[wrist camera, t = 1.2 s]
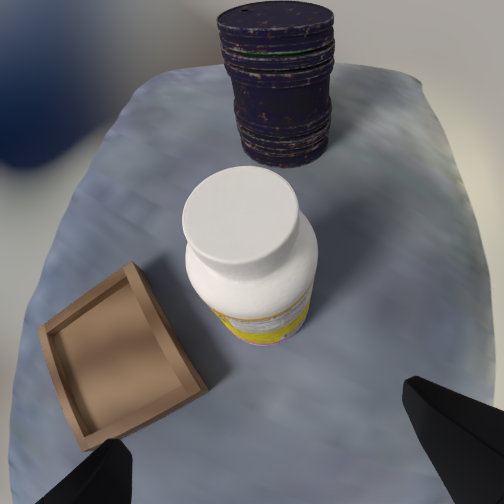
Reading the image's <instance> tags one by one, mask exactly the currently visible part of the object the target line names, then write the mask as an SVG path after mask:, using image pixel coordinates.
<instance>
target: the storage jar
mask: <svg viewBox="0 0 504 504" xmlns="http://www.w3.org/2000/svg"><path fill="white" fill-rule="evenodd" d="M216 21H217V25H218V29H219V30H220V34H219V35H220V40H221V50H222V55H223V58H224V60H225V63H224V66H225V68H226V70H227V73H228V75H229V76H230V77H231V80H232V85H233V90H234V96H235V99H234V112H235V115H236V123H237V128H238V131H239V133H240V137H241V143H242V147H243V149H244V151H245V153H246V154H247V155H248V156H249V157H250V158H251V159H252V160H254V161H256V162H257V163H260V164H262V165H265V166H269V167H274V168H294V167H300V166H303V165H306V164H309V163H311V162H313V161H315V160H316V159H318V158H319V157H320V156H321V155H322V154H323V153H324V151H325V150H326V148H327V144H328V132H329V129H330V124H331V112H332V105H331V98H330V96H329V83H330V73H331V72H332V70H333V65H334V58H333V57H334V56H333V54H334V51H335V49H334V48H335V40H334V29H333V27H332V26H333V24H334V14H333V12H332V11H331V10H329V9H328V8H325V7H323V6H320V5H316V4H312V3H307V2H299V1H265V2H256V3H250V4H245V5H241V6H238V7H234V8H232V9H229V10H227V11H225V12H223V13H221V14H220V15H219V16H218V17H217V19H216Z"/></svg>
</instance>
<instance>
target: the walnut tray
mask: <svg viewBox="0 0 504 504" xmlns="http://www.w3.org/2000/svg"><path fill="white" fill-rule="evenodd" d="M38 333H39V337H40V341H41V345H42V348H43V352H44V356H45V359H46V362H47V366H48V369H49V372H50V375H51V378H52V381H53V384H54V387H55V390H56V393H57V395H58V398H59V401H60V403H61V406H62V408H63V411H64V413H65V416H66V418H67V421H68V423H69V425H70V428H71V430H72V432H73V434H74V437H75V439H76V441H77V443H78V445H79V447H80V449H81V451H82V452H86V451H94V450H96V449H97V448H98V447H99V446H100V445H101V444H102V443H103V442H104V441H105V440H106V439H108V438H118V439H122V438H124V437H126V436H128V435H130V434H132V433H134V432H136V431H138V430H140V429H142V428H144V427H146V426H148V425H150V424H151V423H153V422H155V421H157V420H159V419H161V418H163V417H165V416H166V415H168V414H170V413H172V412H174V411H176V410H177V409H179V408H181V407H183V406H184V405H186V404H188V403H190V402H191V401H193V400H195V399H197V398H198V397H200V396H202V395H203V394H205V393H207V392H209V390H208V388H207V386H206V385H205V383H204V382H203V380H202V378H201V377H200V375H199V374H198V372H197V370H196V369H195V367H194V365H193V364H192V362H191V360H190V359H189V357H188V355H187V354H186V352H185V350H184V348H183V347H182V345H181V343H180V341H179V340H178V338H177V336H176V334H175V332H174V331H173V329H172V327H171V325H170V323H169V322H168V320H167V318H166V316H165V314H164V312H163V310H162V308H161V307H160V305H159V303H158V301H157V299H156V297H155V295H154V293H153V291H152V289H151V287H150V285H149V283H148V281H147V279H146V277H145V275H144V273H143V271H142V270H141V269H140V268H139V267H138V266H137V265H136V264H135V263H134V262H133V261H131V262H130V263H128V264H127V265H125V266H124V267H122V268H121V269H120V270H118V271H117V272H115V273H114V274H112V275H111V276H109V277H108V278H107V279H105V280H104V281H102V282H101V283H99V284H98V285H97V286H95V287H94V288H92V289H91V290H90V291H88V292H87V293H85V294H84V295H83V296H81V297H80V298H79V299H77V300H76V301H74V302H73V303H72V304H70V305H69V306H68V307H66V308H65V309H64V310H62V311H61V312H60V313H58V314H57V315H56V316H54V317H53V318H52V319H50V320H49V321H48V322H46V323H45V324H44V325H43V326H41V327H40V328H39V329H38Z"/></svg>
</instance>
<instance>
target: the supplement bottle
mask: <svg viewBox="0 0 504 504" xmlns="http://www.w3.org/2000/svg"><path fill="white" fill-rule="evenodd" d="M182 225H183V230H184V234H185V236H186V239H187V240H188V243H187V247H186V269H187V273H188V276H189V279H190V281H191V284H192V286H193V287H194V289H195V290H196V292H197V293H198V294H199V296H200V297H201V298H202V300H203V301H204V302H205V303H206V304H207V305H208V306H209V307H210V308H211V309H212V311H213V312H214V313H215V314H216V315H217V316H218V317H219V318H220V320H221V321H222V322H223V323H224V324H225V325H226V326H227V327H228V329H229V330H230V331H231V332H232V333H233V334H234V335H236V336H237V337H238V338H240V339H241V340H243V341H245V342H247V343H250V344H253V345H259V346H268V345H275V344H278V343H281V342H283V341H285V340H287V339H289V338H290V337H292V336H293V335H294V334H295V333H296V332H297V331H298V330H299V329H300V327H301V326H302V324H303V323H304V321H305V319H306V316H307V313H308V309H309V304H310V299H311V293H312V288H313V283H314V278H315V273H316V268H317V261H318V245H317V239H316V236H315V233H314V230H313V228H312V226H311V224H310V222H309V221H308V219H307V218H306V217H305V216H304V214H303V213H302V212H301V211H300V210H299V204H298V200H297V197H296V194H295V192H294V190H293V188H292V187H291V186H290V184H289V183H288V182H287V181H286V180H285V179H284V178H283V177H281V176H280V175H278V174H277V173H275V172H273V171H271V170H269V169H265V168H261V167H256V166H239V167H232V168H228V169H225V170H222V171H220V172H217V173H215V174H213V175H211V176H210V177H208V178H206V179H205V180H204V181H202V182H201V183H200V184H199V185H198V186H197V187H196V188H195V189H194V190H193V192H192V193H191V195H190V196H189V198H188V200H187V201H186V204H185V207H184V210H183V215H182Z"/></svg>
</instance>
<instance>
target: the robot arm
mask: <svg viewBox="0 0 504 504" xmlns="http://www.w3.org/2000/svg"><path fill="white" fill-rule="evenodd" d="M402 402H403V405H404V407H405V410H406V412H407V414H408V416H409V419H410V421H411V423H412V426H413V428H414V430H415V433H416V435H417V437H418V439H419V441H420V443H421V445H422V447H423V448H424V450H425V452H426V454H427V455H428V457H429V459H430V460H431V462H432V464H433V466H434V467H435V469H436V471H437V473H438V474H439V476H440V478H441V480H442V481H443V483H444V485H445V487H446V488H447V490H448V492H449V494H450V496H451V497H452V499H453V501H454V503H455V504H504V411H502V410H500V409H497V408H495V407H492V406H489V405H487V404H484V403H482V402H479V401H477V400H474V399H472V398H469V397H467V396H464V395H462V394H459V393H457V392H454V391H452V390H450V389H447V388H445V387H442V386H440V385H438V384H435V383H433V382H431V381H428V380H426V379H424V378H421V377H419V376H413V377H411V378H408V379H406V380H405V381H404V384H403V394H402ZM131 498H132V454H131V453H130V451H129V450H128V449H127V447H126V446H125V445H124V444H123V442H122V441H121V440H120V439H118V438H108V439H106V440H105V441H104V442H103V443H102V444H101V445H100V446H99V447H98V448H97V449H96V450H95V451H93V452H92V453H91V454H90V455H89V456H88V457H87V458H86V459H85V460H84V461H83V462H82V463H80V464H79V465H78V466H77V467H76V468H75V469H74V470H73V471H72V472H71V473H69V474H68V475H67V476H66V477H65V478H64V479H63V480H62V481H60V482H59V483H58V484H57V485H56V486H55V487H54V488H53V489H51V490H50V491H49V492H48V493H47V494H46V495H45V496H44V497H42V498H41V499H40V500H39V501H38V502H36V503H35V504H131Z"/></svg>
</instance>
